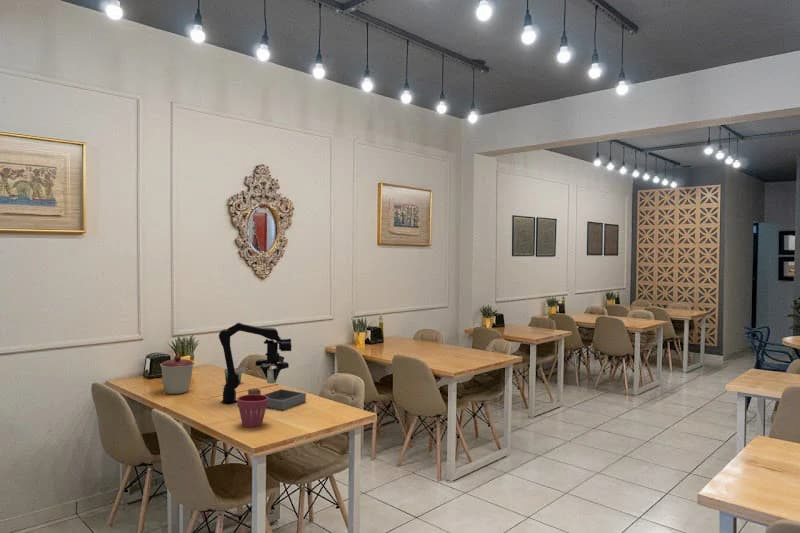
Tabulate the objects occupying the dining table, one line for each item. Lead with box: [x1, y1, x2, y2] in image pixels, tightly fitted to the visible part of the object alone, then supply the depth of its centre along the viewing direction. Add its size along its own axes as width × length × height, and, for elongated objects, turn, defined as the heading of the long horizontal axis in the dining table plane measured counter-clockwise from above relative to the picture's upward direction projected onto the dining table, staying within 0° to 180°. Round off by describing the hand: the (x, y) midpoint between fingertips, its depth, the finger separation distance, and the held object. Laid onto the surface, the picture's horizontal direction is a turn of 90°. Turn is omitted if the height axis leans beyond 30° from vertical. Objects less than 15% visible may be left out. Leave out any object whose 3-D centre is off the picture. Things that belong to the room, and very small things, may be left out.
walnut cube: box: [247, 387, 262, 395], centre depth 303 cm, size 5×5×5 cm
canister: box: [159, 355, 195, 395], centre depth 311 cm, size 18×18×21 cm
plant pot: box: [236, 394, 269, 428], centre depth 256 cm, size 14×14×13 cm
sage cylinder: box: [266, 368, 277, 385], centre depth 299 cm, size 5×5×7 cm
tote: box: [263, 388, 307, 412], centre depth 293 cm, size 20×17×5 cm
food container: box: [223, 365, 244, 385], centre depth 334 cm, size 12×6×10 cm, turn 143°
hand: (271, 379), depth 299 cm, fingers closed on sage cylinder, 5 cm apart
